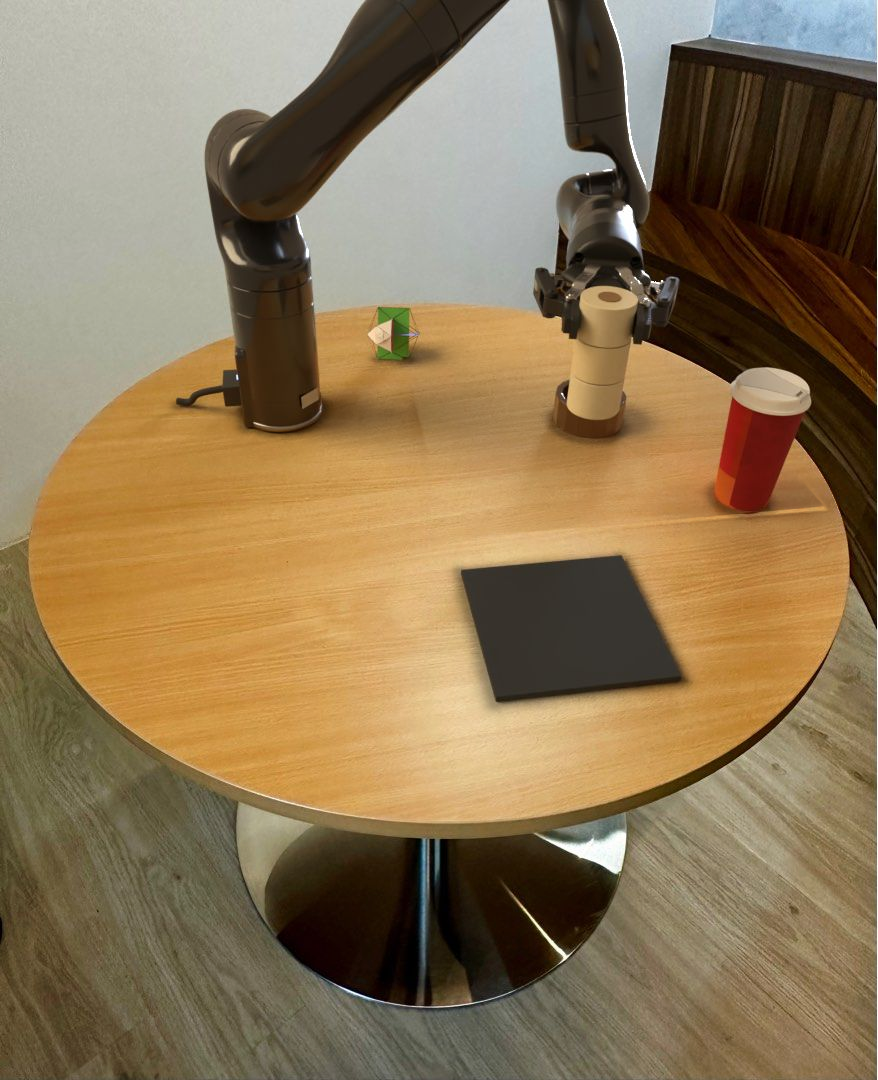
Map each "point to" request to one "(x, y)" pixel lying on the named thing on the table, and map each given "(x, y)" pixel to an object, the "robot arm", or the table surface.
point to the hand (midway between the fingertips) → (606, 331)
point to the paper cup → (759, 435)
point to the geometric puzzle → (392, 333)
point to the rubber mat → (565, 628)
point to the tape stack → (601, 351)
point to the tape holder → (581, 425)
